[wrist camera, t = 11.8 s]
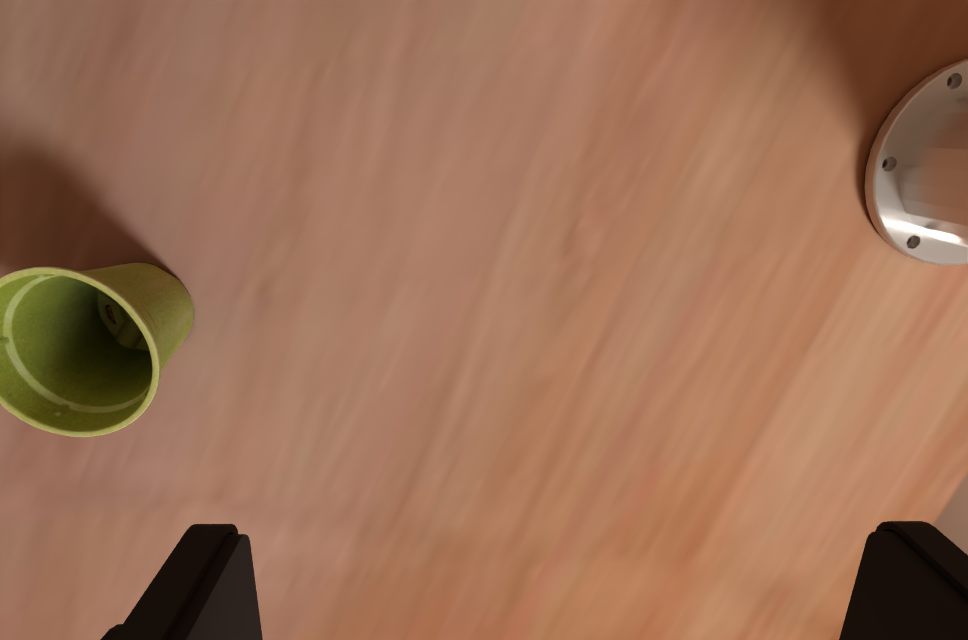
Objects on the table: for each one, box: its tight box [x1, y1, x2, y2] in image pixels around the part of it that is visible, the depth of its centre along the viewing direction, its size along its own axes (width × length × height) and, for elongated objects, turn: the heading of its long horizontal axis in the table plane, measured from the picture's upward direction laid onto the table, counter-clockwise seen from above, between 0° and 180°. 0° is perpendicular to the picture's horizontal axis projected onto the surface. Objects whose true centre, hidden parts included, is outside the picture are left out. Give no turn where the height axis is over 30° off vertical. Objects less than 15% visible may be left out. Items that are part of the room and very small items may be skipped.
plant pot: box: [0, 263, 194, 437], centre depth 34 cm, size 9×9×9 cm
